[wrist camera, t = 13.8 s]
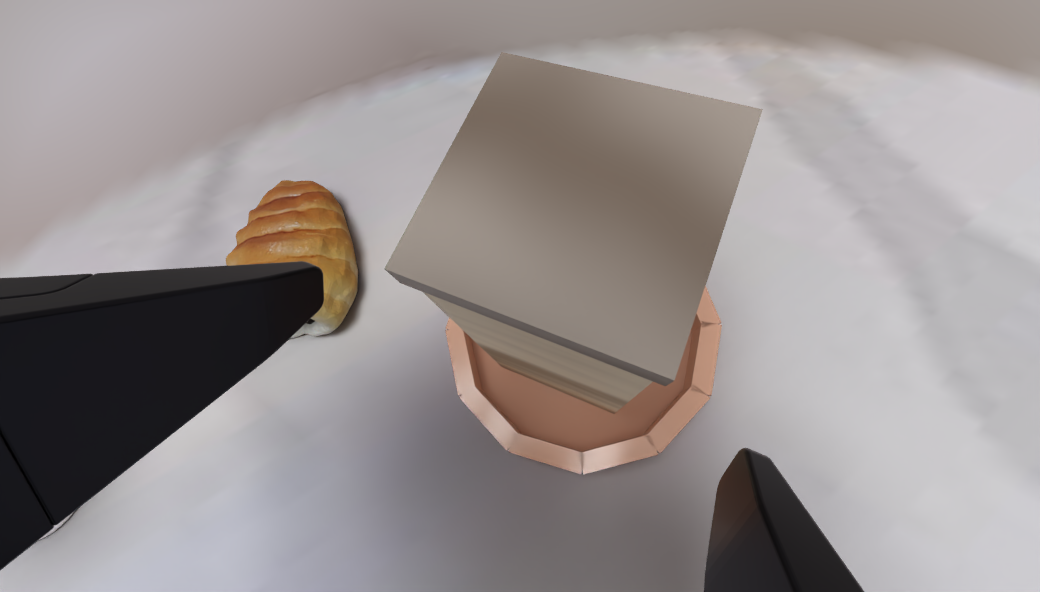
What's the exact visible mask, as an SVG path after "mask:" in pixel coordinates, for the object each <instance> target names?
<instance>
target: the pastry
mask: <svg viewBox="0 0 1040 592" xmlns="http://www.w3.org/2000/svg"><path fill="white" fill-rule="evenodd" d="M236 239H237V246H236V248H235V249H234V250H233V251H232V252H231V253H230V254H229V255H228V256H227V258H226V264H227V266H231V265H247V264H264V263H281V262H298V261H304V262H308V263H311V264H313V265H315V266H318V267H319V268H320V269H321V270H322V272H323V278H324V303H323V305H322V307H321V309H320V310H319V311H318V312H317V313H316V314H315V315H314V316H313V317H312V318H311V319H310V320H309V321H308V322H306V323H305V324H304V325H303V326H302V327H301V328H300V329H299V330H298V331H297V332H296V333H295V334H294V335H293V336H292V337H291V338H295V337H298V336H301V335H303V334H308V335H311V336H320V335H324V334H329V333H331V332H332V331H334V330H335V329H336V328H337V327H338V326H339V325H340V324H341V323H342V321H343V319H344V318H345V316H346V314H347V312H348V310H349V308H350V307H351V305H352V303H353V301H354V299H355V297H356V294H357V285H358V273H359V272H358V268H357V264H356V256H355V253H354V247H353V243H352V240H351V236H350V233H349V230H348V226H347V223H346V219H345V216H344V213H343V210H342V208H341V206H340V204H339V203H338V202H337V200H336V199H335V198H334V196H333V194H332V193H331V192H330V191H328V190H327V189H326V188H324V187H323V186H321V185H319V184H317V183H315V182H313V181H298V182H294V181H288V180H286V181H281V182H280V183H279V184H277V185H276V186H275V187H274V188H273V189H272V190H270V191H268V192H267V193H266V195H265V196H264V197H263V198H262V200H261V201H260V203H259V205H258V206H257V208H255V209H254V210H251V211H250V212H249V219H248V224H247V226H246V227H244V228H243V229H241V230H239V231H238V232H237V234H236Z"/></svg>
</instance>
